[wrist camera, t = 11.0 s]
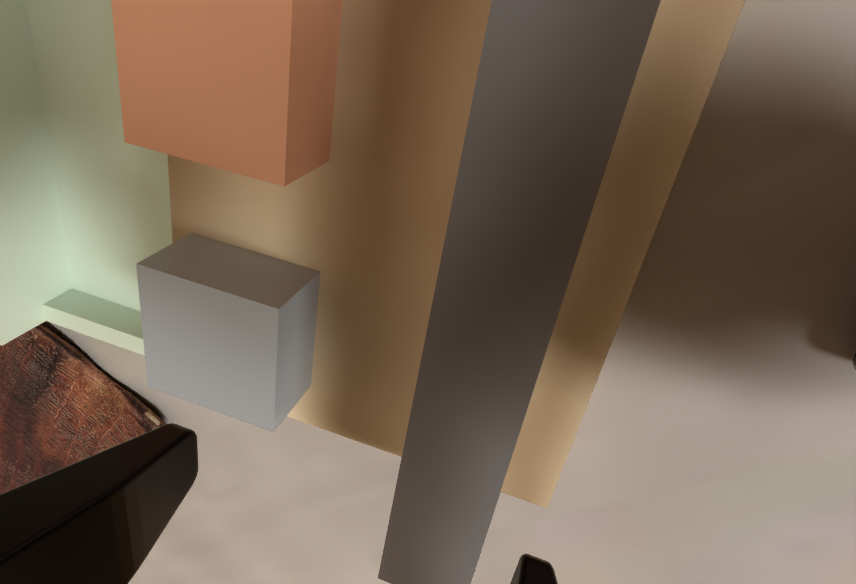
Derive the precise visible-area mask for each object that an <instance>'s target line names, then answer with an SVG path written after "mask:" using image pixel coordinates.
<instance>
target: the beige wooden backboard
mask: <svg viewBox="0 0 856 584" xmlns="http://www.w3.org/2000/svg"><path fill="white" fill-rule="evenodd" d="M491 2H492V0H343V3H342V15H341V27H340V39H339V51H338V63H337V76H336V88H335V100H334V112H333V124H332V136H331V148H330V161H328V162H327V163H325V164H323V165H321V166H320V167H318V168H316V169H314V170H313V171H311V172H309V173H307V174H306V175H304V176H302V177H300V178H299V179H297V180H295V181H293V182H292V183H290V184H288V185H286V186H285V187H284V186H280V185H277V184H273V183H269V182H266V181H262V180H259V179H255V178H251V177H248V176H244V175H241V174H237V173H233V172H230V171H226V170H223V169H219V168H215V167H212V166H208V165H205V164H201V163H197V162H194V161H190V160H187V159H183V158H179V157H176V156H172V155H169V154H167V156H168V173H169V190H170V207H171V224H172V241H173V243H174V242H176V241H178V240H180V239H181V238H183V237H185V236H187V235H189V234H190V233H195V234H198V235H202V236H205V237H208V238H211V239H215V240H218V241H221V242H225V243H228V244H231V245H235V246H238V247H241V248H245V249H248V250H251V251H254V252H258V253H261V254H264V255H268V256H271V257H274V258H278V259H281V260H284V261H288V262H291V263H294V264H298V265H301V266H304V267H307V268H311V269H314V270H317V271H320V282H319V294H318V306H317V319H316V331H315V343H314V355H313V367H312V379H311V386H310V387H309V389H308V390H307V391H306V392H305V394H304V395H303V396H302V397H301V399H300V400H299V401H298V402H297V404H296V405H295V406H294V407H293V409H292V410H291V411H290V412H289V414H288V415H287V416H288V417H291V418H294V419H296V420H299V421H302V422H305V423H308V424H311V425H313V426H316V427H319V428H322V429H325V430H327V431H330V432H333V433H336V434H339V435H342V436H344V437H347V438H350V439H353V440H356V441H359V442H361V443H364V444H367V445H370V446H373V447H375V448H378V449H381V450H384V451H387V452H390V453H392V454H395V455H398V456H401V457H402V454H403V449H404V444H405V439H406V433H407V428H408V423H409V418H410V413H411V408H412V403H413V398H414V393H415V388H416V383H417V378H418V373H419V368H420V362H421V357H422V352H423V347H424V342H425V337H426V332H427V327H428V322H429V317H430V312H431V307H432V302H433V296H434V291H435V286H436V281H437V276H438V271H439V266H440V261H441V256H442V251H443V246H444V241H445V236H446V231H447V225H448V220H449V215H450V210H451V205H452V200H453V195H454V190H455V185H456V180H457V175H458V170H459V165H460V160H461V154H462V149H463V144H464V139H465V134H466V129H467V124H468V119H469V114H470V109H471V104H472V99H473V94H474V89H475V83H476V78H477V73H478V68H479V63H480V58H481V53H482V48H483V43H484V38H485V33H486V28H487V23H488V18H489V12H490V7H491ZM744 2H745V0H661V1H660V4H659V7H658V10H657V13H656V17H655V20H654V23H653V26H652V29H651V32H650V35H649V38H648V41H647V44H646V47H645V50H644V53H643V56H642V59H641V63H640V66H639V69H638V72H637V75H636V78H635V81H634V84H633V87H632V90H631V93H630V96H629V99H628V102H627V105H626V108H625V112H624V115H623V118H622V121H621V124H620V127H619V130H618V133H617V136H616V139H615V142H614V145H613V148H612V151H611V154H610V157H609V161H608V164H607V167H606V170H605V173H604V176H603V179H602V182H601V185H600V188H599V191H598V194H597V197H596V200H595V203H594V207H593V210H592V213H591V216H590V219H589V222H588V225H587V228H586V231H585V234H584V237H583V240H582V243H581V246H580V249H579V252H578V256H577V259H576V262H575V265H574V268H573V271H572V274H571V277H570V280H569V283H568V286H567V289H566V292H565V295H564V298H563V302H562V305H561V308H560V311H559V314H558V317H557V320H556V323H555V326H554V329H553V332H552V335H551V338H550V341H549V344H548V347H547V351H546V354H545V357H544V360H543V363H542V366H541V369H540V372H539V375H538V378H537V381H536V384H535V387H534V390H533V393H532V397H531V400H530V403H529V406H528V409H527V412H526V415H525V418H524V421H523V424H522V427H521V430H520V433H519V436H518V439H517V442H516V446H515V449H514V452H513V455H512V458H511V461H510V464H509V467H508V470H507V473H506V476H505V479H504V482H503V485H502V488H501V492H503V493H505V494H508V495H511V496H514V497H517V498H519V499H522V500H525V501H528V502H531V503H534V504H536V505H539V506H542V507H545V508H547V507H548V505H549V502H550V500H551V497H552V494H553V492H554V489H555V487H556V484H557V482H558V479H559V476H560V474H561V471H562V469H563V466H564V464H565V461H566V459H567V456H568V453H569V451H570V448H571V446H572V443H573V441H574V438H575V435H576V433H577V430H578V428H579V425H580V423H581V420H582V417H583V415H584V412H585V410H586V407H587V405H588V402H589V400H590V397H591V394H592V392H593V389H594V387H595V384H596V382H597V379H598V376H599V374H600V371H601V369H602V366H603V364H604V361H605V359H606V356H607V353H608V351H609V348H610V346H611V343H612V341H613V338H614V335H615V333H616V330H617V328H618V325H619V323H620V320H621V317H622V315H623V312H624V310H625V307H626V305H627V302H628V300H629V297H630V294H631V292H632V289H633V287H634V284H635V282H636V279H637V276H638V274H639V271H640V269H641V266H642V264H643V261H644V259H645V256H646V253H647V251H648V248H649V246H650V243H651V241H652V238H653V235H654V233H655V230H656V228H657V225H658V223H659V220H660V218H661V215H662V212H663V210H664V207H665V205H666V202H667V200H668V197H669V194H670V192H671V189H672V187H673V184H674V182H675V179H676V176H677V174H678V171H679V169H680V166H681V164H682V161H683V159H684V156H685V153H686V151H687V148H688V146H689V143H690V141H691V138H692V135H693V133H694V130H695V128H696V125H697V123H698V120H699V118H700V115H701V112H702V110H703V107H704V105H705V102H706V100H707V97H708V94H709V92H710V89H711V87H712V84H713V82H714V79H715V77H716V74H717V71H718V69H719V66H720V64H721V61H722V59H723V56H724V53H725V51H726V48H727V46H728V43H729V41H730V38H731V35H732V33H733V30H734V28H735V25H736V23H737V20H738V18H739V15H740V12H741V10H742V7H743V5H744Z"/></svg>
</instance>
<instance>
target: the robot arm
mask: <svg viewBox="0 0 856 584" xmlns="http://www.w3.org/2000/svg"><path fill="white" fill-rule="evenodd" d="M853 365H854V368H855V369H856V354H855V356H854V358H853ZM197 472H198V450H197V436H196V434H195V432H194V431H193V430H190V429H188V428H185V427H182V426H180V425H177V424H166V425H163V426H161V427H159V428H156V429H154V430H151V431H149V432H147V433H144V434H142V435H140V436H137V437H135V438H133V439H130V440H128V441H125V442H123V443H121V444H118V445H116V446H114V447H111V448H109V449H106V450H104V451H102V452H99V453H97V454H95V455H92V456H90V457H88V458H85V459H83V460H80V461H78V462H76V463H73V464H71V465H69V466H66V467H64V468H61V469H59V470H57V471H54V472H52V473H50V474H47V475H45V476H43V477H40V478H38V479H35V480H33V481H31V482H28V483H26V484H24V485H21V486H19V487H17V488H14V489H12V490H9V491H7V492H5V493H2V494H0V584H128V582H129V581H130V580H131V578H132V577H133V576H134V574H135V573H136V572H137V570H138V569H139V567H140V566H141V564H142V563H143V561H144V560H145V558H146V557H147V555H148V554H149V552H150V550H151V549H152V547H153V546H154V544H155V543H156V541H157V540H158V538H159V536H160V535H161V533H162V532H163V530H164V529H165V527H166V525H167V524H168V522H169V521H170V519H171V518H172V516H173V514H174V513H175V511H176V510H177V508H178V507H179V505H180V504H181V502H182V500H183V499H184V497H185V496H186V494H187V493H188V491H189V489H190V488H191V486H192V485H193V483H194V481H195V479H196V476H197ZM511 584H558V583H557V580H556V576H555V572H554V569H553V567H552V565H551V564H550V563H549V562H547V561H545V560H542V559H540V558H537V557H534V556H531V555H529V554H523V555H522V556H521V558H520V560H519V563H518V565H517V568H516V570H515V573H514V576H513V578H512V581H511Z"/></svg>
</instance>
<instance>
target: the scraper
mask: <svg viewBox="0 0 856 584" xmlns="http://www.w3.org/2000/svg"><path fill="white" fill-rule="evenodd" d="M660 1H661V0H492V2H491V7H490V12H489V18H488V23H487V28H486V33H485V38H484V43H483V48H482V53H481V58H480V63H479V68H478V73H477V78H476V83H475V89H474V94H473V99H472V104H471V109H470V114H469V119H468V124H467V129H466V134H465V139H464V144H463V149H462V154H461V160H460V165H459V170H458V175H457V180H456V185H455V190H454V195H453V200H452V205H451V210H450V215H449V220H448V225H447V231H446V236H445V241H444V246H443V251H442V256H441V261H440V266H439V271H438V276H437V281H436V286H435V291H434V296H433V302H432V307H431V312H430V317H429V322H428V327H427V332H426V337H425V342H424V347H423V352H422V357H421V362H420V368H419V373H418V378H417V383H416V388H415V393H414V398H413V403H412V408H411V413H410V418H409V423H408V428H407V433H406V439H405V444H404V449H403V454H402V459H401V464H400V469H399V474H398V479H397V484H396V489H395V494H394V499H393V504H392V510H391V515H390V520H389V525H388V530H387V535H386V540H385V545H384V550H383V555H382V560H381V565H380V570H379V575H378V578H379V579H381V580H384V581H386V582H389V583H391V584H470V583H471V580H472V577H473V574H474V571H475V568H476V565H477V562H478V559H479V556H480V553H481V550H482V547H483V544H484V541H485V537H486V534H487V531H488V528H489V525H490V522H491V519H492V516H493V513H494V510H495V507H496V504H497V501H498V498H499V495H500V492H501V488H502V485H503V482H504V479H505V476H506V473H507V470H508V467H509V464H510V461H511V458H512V455H513V452H514V449H515V446H516V442H517V439H518V436H519V433H520V430H521V427H522V424H523V421H524V418H525V415H526V412H527V409H528V406H529V403H530V400H531V397H532V393H533V390H534V387H535V384H536V381H537V378H538V375H539V372H540V369H541V366H542V363H543V360H544V357H545V354H546V351H547V347H548V344H549V341H550V338H551V335H552V332H553V329H554V326H555V323H556V320H557V317H558V314H559V311H560V308H561V305H562V302H563V298H564V295H565V292H566V289H567V286H568V283H569V280H570V277H571V274H572V271H573V268H574V265H575V262H576V259H577V256H578V252H579V249H580V246H581V243H582V240H583V237H584V234H585V231H586V228H587V225H588V222H589V219H590V216H591V213H592V210H593V207H594V203H595V200H596V197H597V194H598V191H599V188H600V185H601V182H602V179H603V176H604V173H605V170H606V167H607V164H608V161H609V157H610V154H611V151H612V148H613V145H614V142H615V139H616V136H617V133H618V130H619V127H620V124H621V121H622V118H623V115H624V112H625V108H626V105H627V102H628V99H629V96H630V93H631V90H632V87H633V84H634V81H635V78H636V75H637V72H638V69H639V66H640V63H641V59H642V56H643V53H644V50H645V47H646V44H647V41H648V38H649V35H650V32H651V29H652V26H653V23H654V20H655V17H656V13H657V10H658V7H659V4H660Z"/></svg>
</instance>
